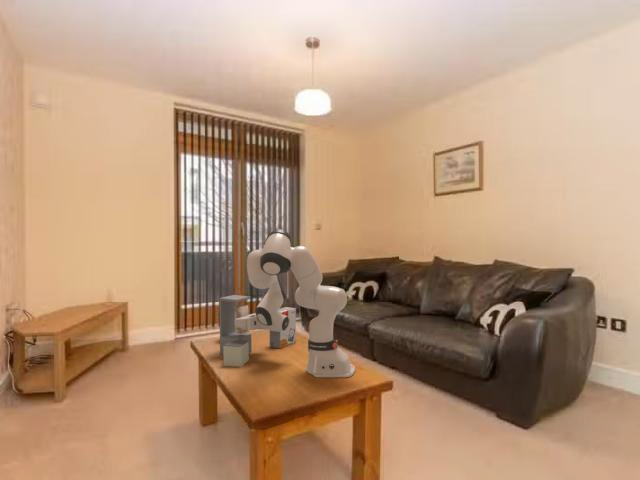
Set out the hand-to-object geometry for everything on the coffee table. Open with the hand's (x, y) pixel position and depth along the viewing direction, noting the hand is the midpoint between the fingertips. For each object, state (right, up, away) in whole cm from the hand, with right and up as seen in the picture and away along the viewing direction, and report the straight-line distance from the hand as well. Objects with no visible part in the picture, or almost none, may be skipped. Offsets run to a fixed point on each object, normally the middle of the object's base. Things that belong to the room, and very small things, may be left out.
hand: (240, 317), depth 191 cm
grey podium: (-3, -19, +1) cm, 19 cm away
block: (+1, -8, 0) cm, 8 cm away
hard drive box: (+21, -19, +16) cm, 32 cm away
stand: (+1, -19, -14) cm, 24 cm away
